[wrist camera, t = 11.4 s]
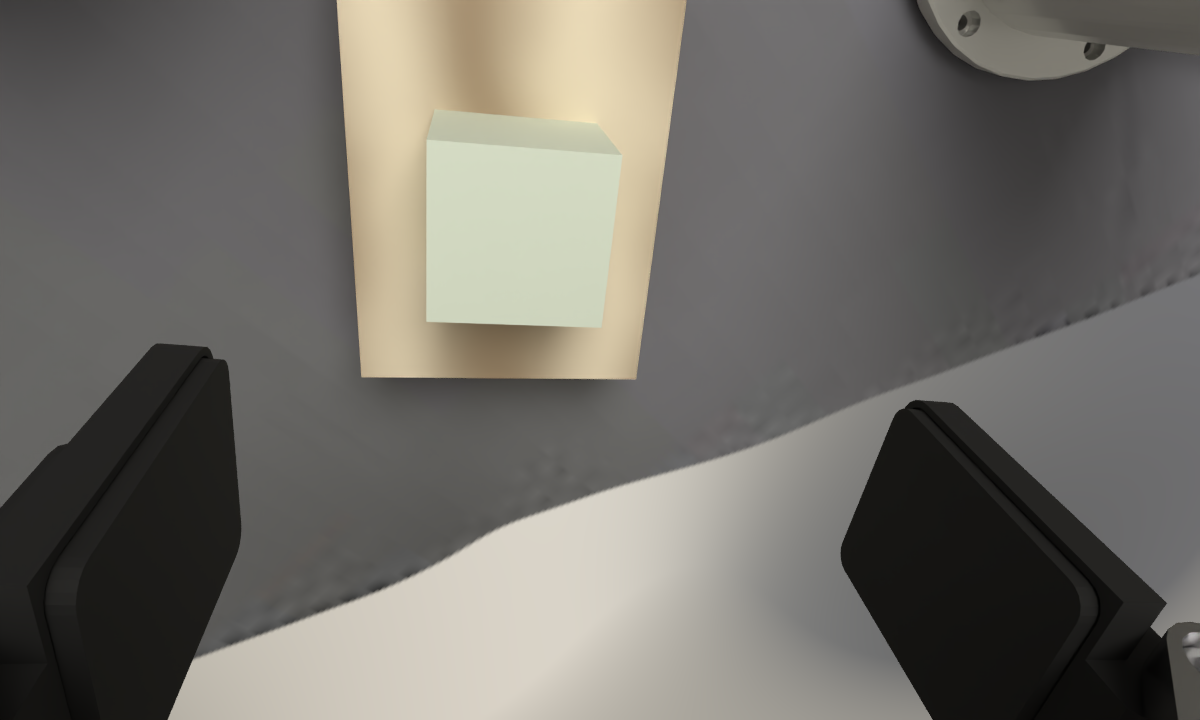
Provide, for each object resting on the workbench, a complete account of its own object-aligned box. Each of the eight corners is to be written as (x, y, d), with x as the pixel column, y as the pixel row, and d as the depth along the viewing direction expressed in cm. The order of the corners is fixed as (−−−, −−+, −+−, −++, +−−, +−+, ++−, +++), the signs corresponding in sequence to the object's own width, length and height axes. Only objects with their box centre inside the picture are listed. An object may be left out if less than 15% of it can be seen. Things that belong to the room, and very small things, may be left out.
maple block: (654, -39, 26) (691, -40, 21) (613, 323, 32) (636, 379, 28) (357, -72, 24) (331, -80, 19) (377, 318, 30) (361, 377, 26)
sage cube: (597, 123, 23) (622, 155, 19) (581, 272, 25) (601, 327, 21) (434, 109, 22) (426, 139, 18) (433, 264, 24) (426, 321, 20)
